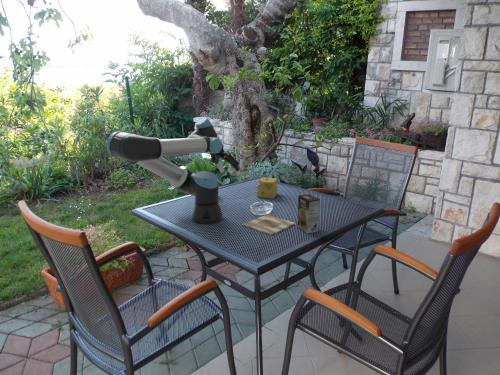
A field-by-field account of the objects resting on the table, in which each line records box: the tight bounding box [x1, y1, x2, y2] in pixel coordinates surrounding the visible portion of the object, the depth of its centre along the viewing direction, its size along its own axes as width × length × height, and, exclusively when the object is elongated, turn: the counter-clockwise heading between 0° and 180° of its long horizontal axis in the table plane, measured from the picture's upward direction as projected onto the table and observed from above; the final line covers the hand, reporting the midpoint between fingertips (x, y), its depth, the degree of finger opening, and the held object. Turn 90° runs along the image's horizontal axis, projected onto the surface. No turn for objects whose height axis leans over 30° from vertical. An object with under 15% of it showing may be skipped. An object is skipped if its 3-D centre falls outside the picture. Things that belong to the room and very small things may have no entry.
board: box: [242, 214, 296, 236], centre depth 196 cm, size 18×18×1 cm
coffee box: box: [297, 193, 321, 234], centre depth 188 cm, size 9×6×16 cm
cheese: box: [256, 176, 278, 199], centre depth 240 cm, size 10×11×10 cm
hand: (231, 173), depth 228 cm, fingers open, 13 cm apart
